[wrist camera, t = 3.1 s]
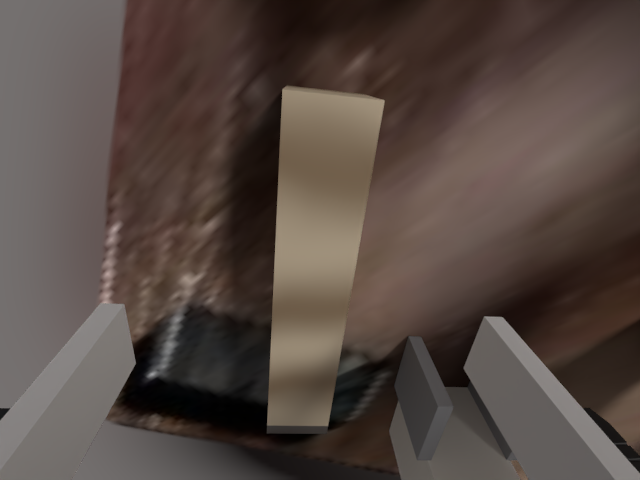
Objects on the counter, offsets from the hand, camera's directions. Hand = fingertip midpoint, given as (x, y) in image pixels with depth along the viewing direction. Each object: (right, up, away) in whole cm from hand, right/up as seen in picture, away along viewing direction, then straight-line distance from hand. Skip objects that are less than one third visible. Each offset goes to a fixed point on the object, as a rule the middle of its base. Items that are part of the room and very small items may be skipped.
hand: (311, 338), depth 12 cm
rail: (0, +3, +9) cm, 10 cm away
